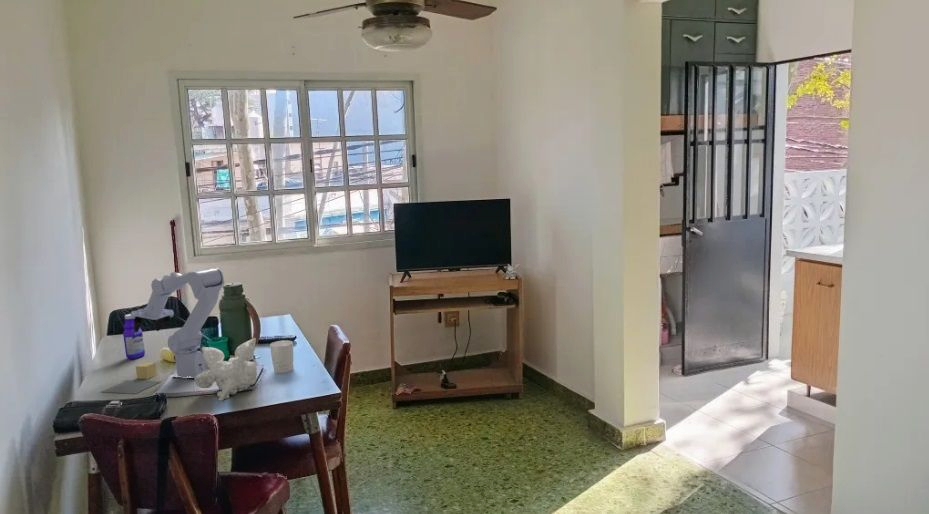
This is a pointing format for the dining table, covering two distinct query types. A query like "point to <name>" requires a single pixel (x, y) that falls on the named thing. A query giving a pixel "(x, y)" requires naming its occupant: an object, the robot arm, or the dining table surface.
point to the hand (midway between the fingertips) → (146, 329)
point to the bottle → (133, 339)
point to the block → (146, 370)
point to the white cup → (282, 356)
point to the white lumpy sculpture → (229, 370)
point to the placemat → (131, 386)
